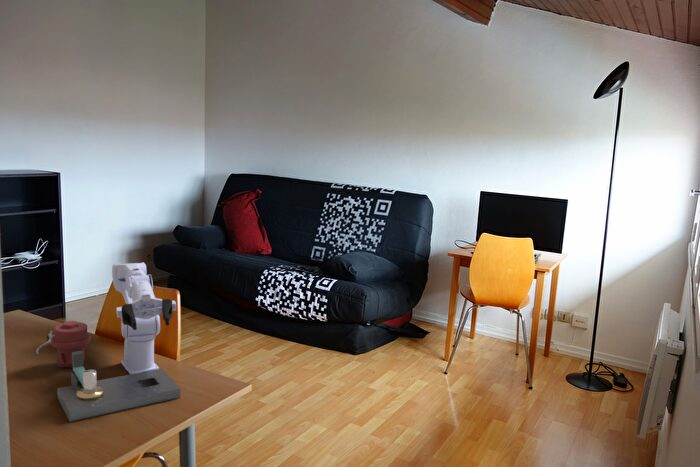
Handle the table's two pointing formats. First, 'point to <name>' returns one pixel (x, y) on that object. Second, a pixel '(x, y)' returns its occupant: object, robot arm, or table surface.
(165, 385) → the block
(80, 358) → the locking bolt
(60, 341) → the mechanical component
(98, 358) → the table surface
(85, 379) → the gold disc with post
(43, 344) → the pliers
